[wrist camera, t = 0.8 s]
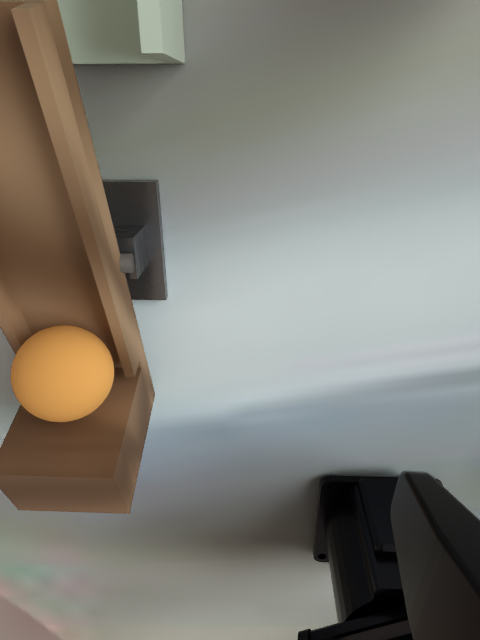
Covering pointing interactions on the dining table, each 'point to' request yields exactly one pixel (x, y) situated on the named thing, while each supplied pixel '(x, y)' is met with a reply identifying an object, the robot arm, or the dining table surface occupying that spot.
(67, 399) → the ball
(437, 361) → the dining table surface
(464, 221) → the dining table surface
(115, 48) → the tray
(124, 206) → the fulcrum
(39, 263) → the brown wooden ramp
